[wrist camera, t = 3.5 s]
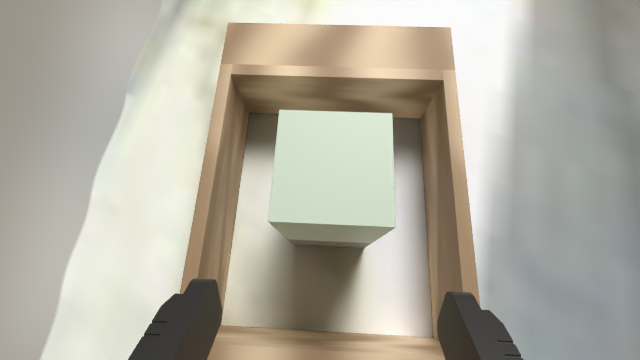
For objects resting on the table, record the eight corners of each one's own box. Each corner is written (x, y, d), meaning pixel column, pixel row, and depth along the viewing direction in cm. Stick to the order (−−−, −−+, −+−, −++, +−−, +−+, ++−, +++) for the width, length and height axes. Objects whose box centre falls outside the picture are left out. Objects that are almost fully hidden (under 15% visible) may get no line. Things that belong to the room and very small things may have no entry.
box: (364, 181, 22) (392, 113, 13) (364, 248, 21) (395, 227, 11) (299, 178, 23) (279, 109, 13) (294, 244, 21) (267, 221, 12)
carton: (426, 74, 25) (450, 27, 20) (451, 417, 18) (497, 470, 13) (246, 69, 26) (228, 22, 21) (197, 400, 18) (152, 445, 14)
